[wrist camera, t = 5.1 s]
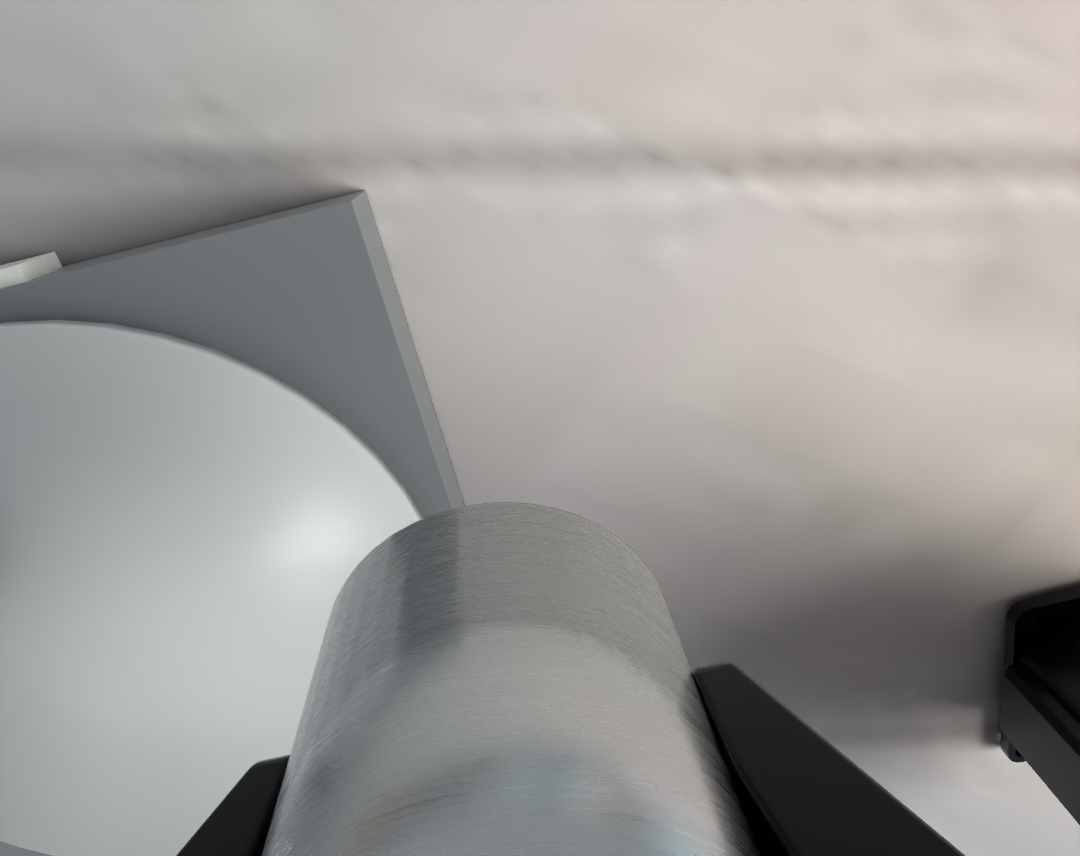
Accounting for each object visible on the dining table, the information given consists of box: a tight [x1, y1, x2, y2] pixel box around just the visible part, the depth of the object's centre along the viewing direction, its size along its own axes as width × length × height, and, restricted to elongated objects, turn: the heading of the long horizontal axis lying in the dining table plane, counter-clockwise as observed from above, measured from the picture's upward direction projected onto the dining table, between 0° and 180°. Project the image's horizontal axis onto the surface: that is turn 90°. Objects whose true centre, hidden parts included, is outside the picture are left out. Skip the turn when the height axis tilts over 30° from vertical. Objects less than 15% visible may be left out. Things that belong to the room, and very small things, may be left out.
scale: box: [0, 190, 465, 856], centre depth 18 cm, size 16×17×3 cm
